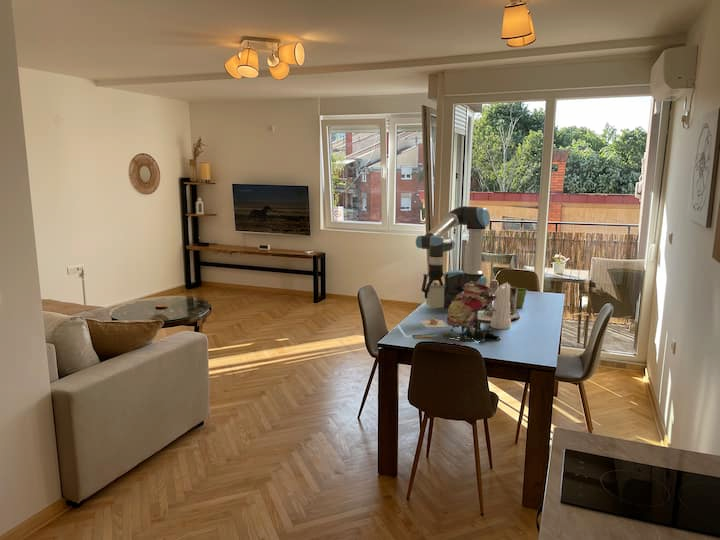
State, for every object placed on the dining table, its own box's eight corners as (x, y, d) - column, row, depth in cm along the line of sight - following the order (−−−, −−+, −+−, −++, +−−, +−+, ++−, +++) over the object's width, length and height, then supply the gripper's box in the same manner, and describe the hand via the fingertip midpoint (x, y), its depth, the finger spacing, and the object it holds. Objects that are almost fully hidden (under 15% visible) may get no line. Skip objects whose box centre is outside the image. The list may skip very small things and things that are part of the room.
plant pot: (524, 304, 347) (525, 288, 345) (527, 309, 335) (529, 292, 333) (505, 304, 348) (506, 287, 346) (508, 308, 336) (510, 291, 334)
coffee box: (499, 312, 328) (500, 286, 325) (501, 309, 333) (503, 285, 330) (514, 314, 324) (515, 288, 321) (516, 311, 329) (518, 286, 326)
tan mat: (408, 329, 289) (408, 328, 289) (427, 329, 291) (427, 328, 291) (414, 338, 274) (414, 337, 274) (435, 337, 275) (435, 336, 275)
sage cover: (426, 304, 300) (426, 281, 297) (439, 303, 301) (440, 281, 298) (429, 307, 292) (430, 284, 290) (443, 307, 293) (444, 284, 291)
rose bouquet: (460, 326, 296) (462, 274, 291) (505, 338, 275) (508, 282, 270) (430, 335, 280) (432, 280, 274) (475, 349, 258) (478, 289, 253)
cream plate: (419, 322, 304) (420, 316, 303) (441, 321, 305) (442, 316, 305) (425, 328, 291) (425, 322, 290) (448, 328, 293) (448, 322, 292)
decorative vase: (496, 329, 291) (499, 285, 286) (487, 324, 301) (489, 281, 296) (514, 328, 293) (516, 284, 289) (504, 323, 304) (506, 280, 299)
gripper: (419, 265, 287) (418, 305, 291) (456, 264, 289) (454, 304, 294) (416, 263, 294) (415, 302, 299) (452, 262, 297) (450, 301, 301)
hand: (434, 303), depth 296 cm, fingers closed on sage cover, 8 cm apart
